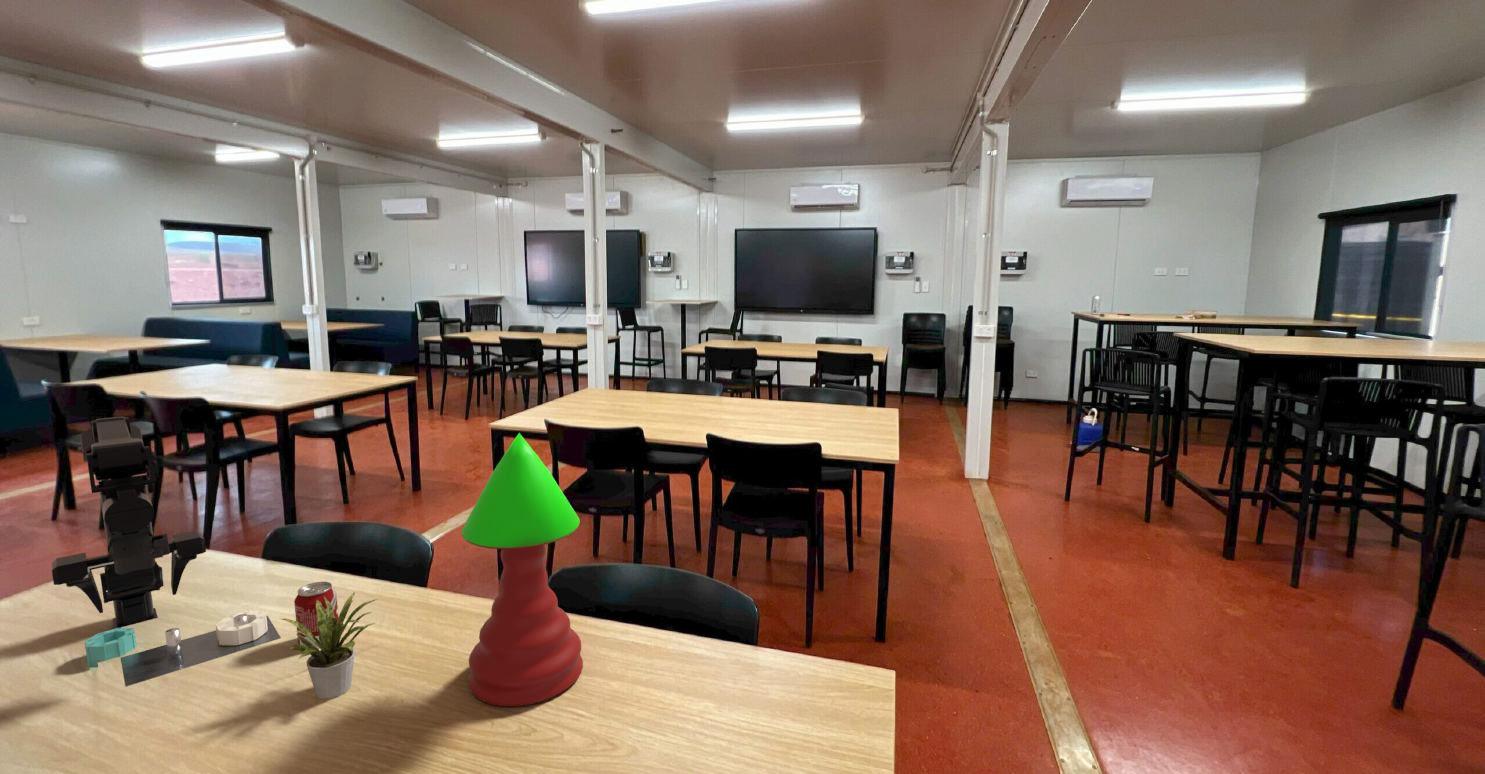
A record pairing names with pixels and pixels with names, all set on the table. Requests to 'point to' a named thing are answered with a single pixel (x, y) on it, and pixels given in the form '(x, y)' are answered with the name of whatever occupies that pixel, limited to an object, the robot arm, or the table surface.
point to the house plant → (330, 650)
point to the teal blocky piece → (109, 645)
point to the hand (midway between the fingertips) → (138, 602)
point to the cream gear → (241, 628)
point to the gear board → (185, 652)
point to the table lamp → (522, 585)
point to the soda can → (313, 606)
